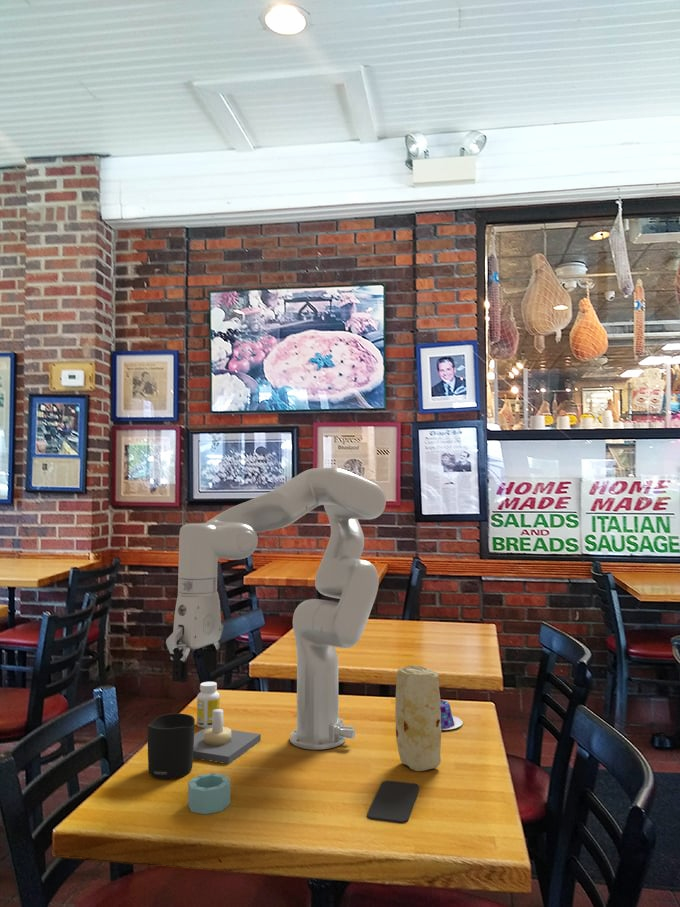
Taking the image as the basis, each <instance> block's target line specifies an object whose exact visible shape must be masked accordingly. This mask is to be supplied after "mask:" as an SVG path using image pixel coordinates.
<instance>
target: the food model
mask: <svg viewBox="0 0 680 907" xmlns="http://www.w3.org/2000/svg"><path fill="white" fill-rule="evenodd" d="M396 672H397V673H396V684H395V686H396V687H395V706H394V707H395V716H394V718H395V737H396V738H395V739H396V740H395V741H396V747H397V752H398V755H399V759H400V762H401V764H403V765H406V766H408V767H409V768H410V770H414V771H415V772H423V771H427V770H431V769H432V770H433V769H436V768H438V767H439V766H440V765H441V762H442V760H441V757H442V756H441V746H442V730H441V729H442V728H441V702H440V700H441V694H440V675H439V674H438V672H437V671H435V670H434V669H430V668H426V667H424V666H419V665H407V666H404V667H400V668H399V669H397V671H396Z"/></svg>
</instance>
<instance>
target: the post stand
mask: <svg viewBox="0 0 680 907" xmlns="http://www.w3.org/2000/svg"><path fill="white" fill-rule="evenodd" d="M261 737H262V736H261V733H255V732H248V731H243V730H242V731H241V730H235V729H231V728H230V727H227V726H224V709H222V708H220V709H215V710H213V711H212V727H206V728H202V729H201V730H199V731H198V732H196V733H194V749H193V759H195V758H196V759H195V760H201V759H204V760H203V761H207V760H212V761H211V762H213V761H217V762H216V763H219V762H223V763H222V764H225V763H227V764H226V765H230V764H231V763H232V762H233V760H234V761H235V760H236V759H238V758H240V757H242V755H243V754H245V753H246V752H248V750H250V749H252V748H253V747H254V746H256V745H257V744H258V743H260V742H261V739H262V738H261ZM229 763H230V764H229Z"/></svg>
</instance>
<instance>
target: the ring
mask: <svg viewBox="0 0 680 907" xmlns="http://www.w3.org/2000/svg"><path fill="white" fill-rule="evenodd" d="M187 783H188V786H187V787H188V788H187V789H188V790H187V791H188V793H187V794H188V795H187V797H188V798H187V799H188V800H187V802H188V803H187V805H188V807H189V809H190V811H191V812H192V813H197V814H201V815H209V814H214V813H220V812H223V811H224V810H225V809H226V808H227V807H229V806H230V805H231V780H230V778H229V777H228V775H227V774H221V773H215V772H211V773H205V774H200V775H196V776H195V777H193V778H192V779H191V780H189V781H188V782H187Z"/></svg>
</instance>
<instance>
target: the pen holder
mask: <svg viewBox="0 0 680 907" xmlns="http://www.w3.org/2000/svg"><path fill="white" fill-rule="evenodd" d="M195 721H196V720H195V718H194V716H193V715H192V714H187V713H180V712H179V713H178V712H177V713H175V712H174V713H166V714H165V713H164V714H162V715H158V716H157V717H155V718H154V719H153V720H152V721H151V722H150V723H149V724H146V729H147V731H146V733H147V734H146V735H147V766H148V767H147V768H148V774H149V775H150V777H152V778H155V779H157V780H174V779H175V780H176V779H180V778H182V777H184V776H186V775H188V774H189V773H190V772H191V771H192V769H193V764H194V758H193V749H194V734H195V725H196V722H195Z"/></svg>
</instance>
